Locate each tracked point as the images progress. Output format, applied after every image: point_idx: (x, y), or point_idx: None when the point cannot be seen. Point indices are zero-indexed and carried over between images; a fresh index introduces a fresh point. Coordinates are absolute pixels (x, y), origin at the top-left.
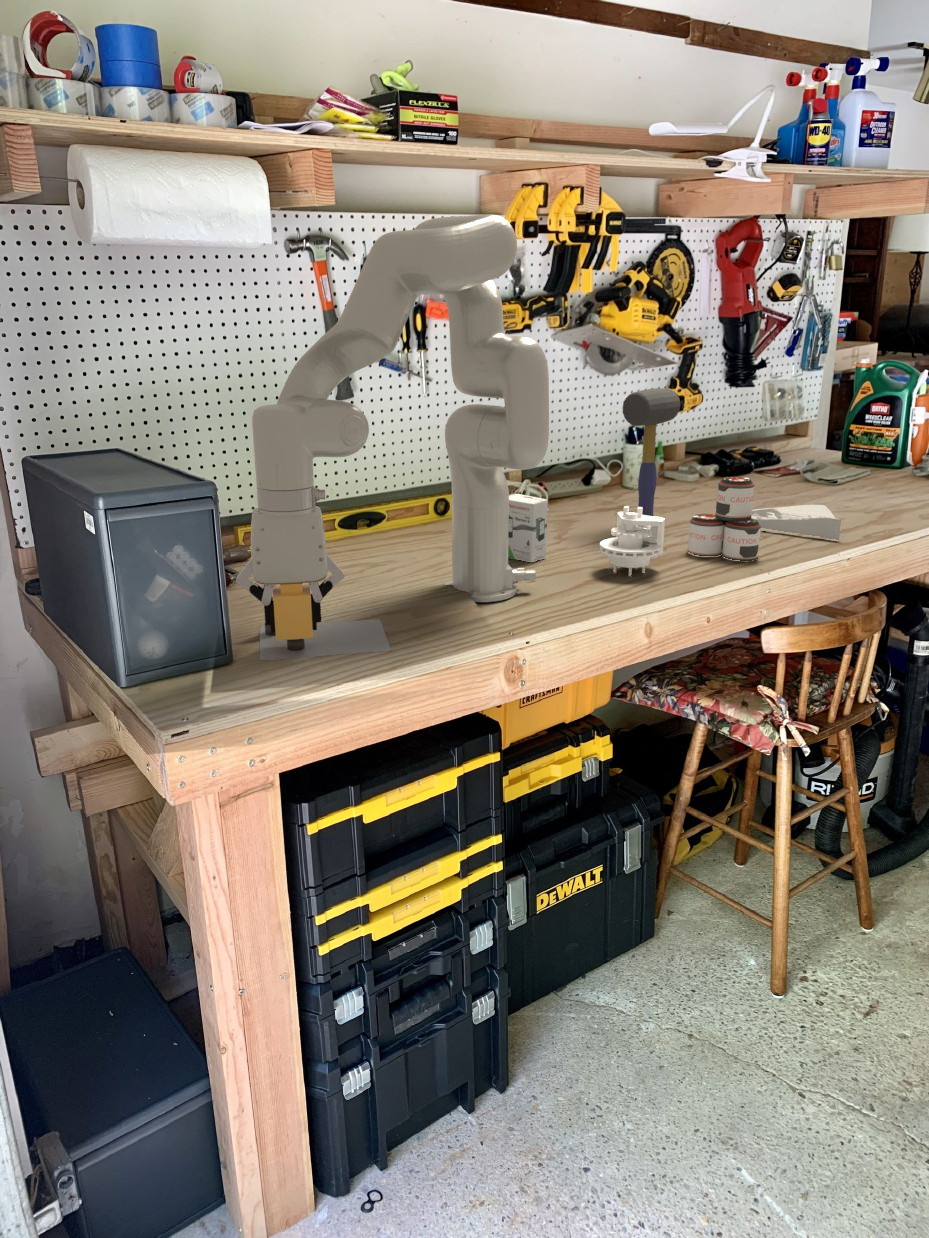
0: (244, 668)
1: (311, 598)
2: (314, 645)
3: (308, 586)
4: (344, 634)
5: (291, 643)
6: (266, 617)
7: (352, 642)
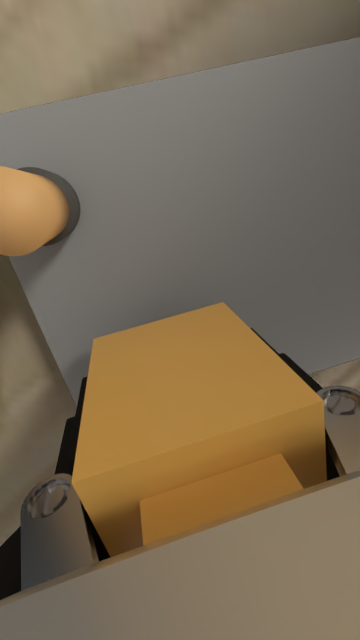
0: (45, 413)
1: None
2: None
3: (319, 430)
4: (305, 219)
5: None
6: None
7: (325, 291)
